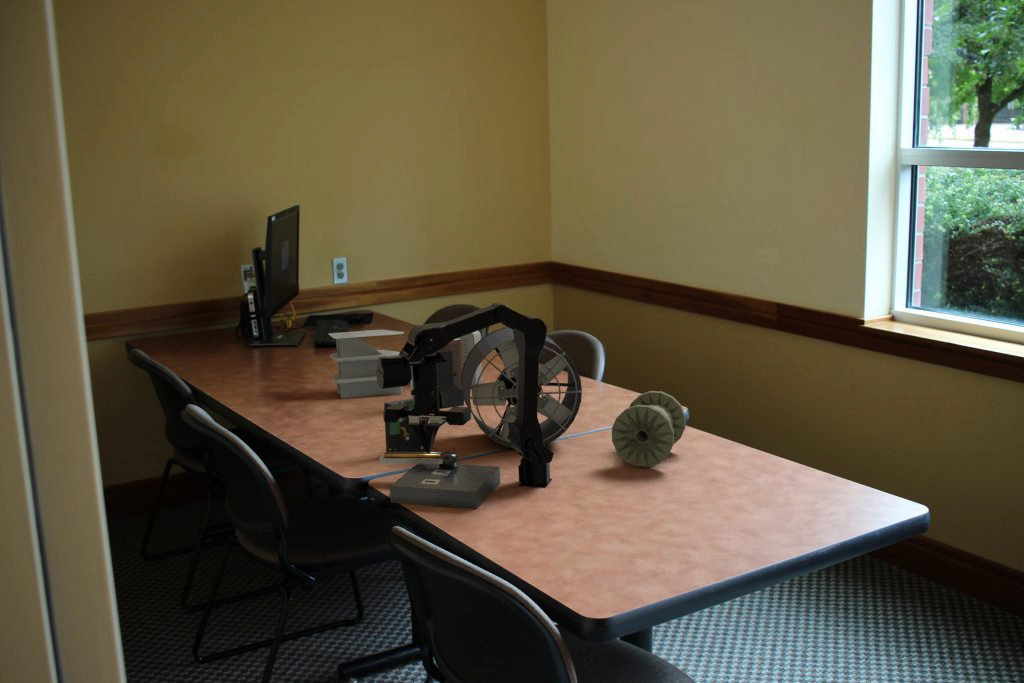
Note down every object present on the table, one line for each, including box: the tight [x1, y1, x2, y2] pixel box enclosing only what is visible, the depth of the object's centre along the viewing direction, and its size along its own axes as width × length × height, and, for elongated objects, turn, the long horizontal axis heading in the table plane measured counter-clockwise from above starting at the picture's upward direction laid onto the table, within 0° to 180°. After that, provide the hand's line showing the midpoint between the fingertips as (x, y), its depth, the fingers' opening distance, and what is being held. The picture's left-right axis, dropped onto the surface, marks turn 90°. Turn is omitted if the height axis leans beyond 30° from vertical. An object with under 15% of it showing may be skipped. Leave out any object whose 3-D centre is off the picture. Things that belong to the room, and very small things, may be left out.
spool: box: [611, 390, 687, 468], centre depth 248 cm, size 16×15×15 cm
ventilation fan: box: [461, 326, 583, 449], centre depth 263 cm, size 30×18×30 cm, turn 99°
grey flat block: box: [389, 463, 501, 510], centre depth 226 cm, size 20×18×4 cm
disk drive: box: [383, 398, 426, 452], centre depth 254 cm, size 10×3×15 cm, turn 119°
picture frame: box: [409, 338, 465, 409], centre depth 298 cm, size 16×2×22 cm, turn 119°
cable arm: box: [378, 450, 459, 468], centre depth 234 cm, size 4×18×3 cm, turn 83°
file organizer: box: [328, 329, 405, 399], centre depth 317 cm, size 26×35×22 cm
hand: (428, 452), depth 220 cm, fingers closed
